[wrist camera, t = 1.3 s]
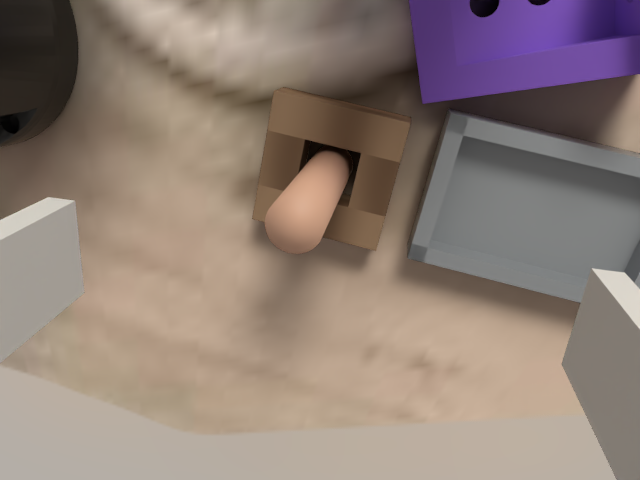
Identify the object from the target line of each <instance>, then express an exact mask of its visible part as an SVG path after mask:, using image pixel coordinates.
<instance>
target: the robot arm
mask: <svg viewBox="0 0 640 480" xmlns="http://www.w3.org/2000/svg"><path fill="white" fill-rule="evenodd" d="M77 60H78V42H77V32H76V25H75V20H74V15H73V12H72V8H71V5H70V2H69V0H0V147H4V146H7V145H11V144H15V143H19V142H22V141H25V140H27V139H30V138H32V137H34V136H36V135H37V134H39V133H40V132H42V131H43V130H45V129H46V128H47V127H48V126H49V125H50V124H51V123H52V122H53V121H54V120H55V119H56V118H57V117H58V115H59V114H60V112H61V111H62V109H63V108H64V106H65V104H66V102H67V100H68V98H69V96H70V93H71V91H72V88H73V84H74V80H75V76H76V70H77ZM82 294H84V284H83V274H82V264H81V254H80V244H79V233H78V223H77V213H76V203H75V201H74V200H66V199H59V198H51V197H47V198H45V199H43V200H41V201H39V202H37V203H35V204H33V205H31V206H28V207H26V208H24V209H22V210H20V211H18V212H16V213H14V214H12V215H10V216H8V217H5V218H3V219H1V220H0V363H1V362H2V361H3V360H4V359H6V358H7V357H8V356H9V355H10V354H12V353H13V352H14V351H15V350H16V349H18V348H19V347H20V346H21V345H22V344H24V343H25V342H26V341H27V340H28V339H30V338H31V337H32V336H33V335H34V334H36V333H37V332H38V331H39V330H40V329H42V328H43V327H44V326H45V325H46V324H48V323H49V322H50V321H51V320H52V319H54V318H55V317H56V316H57V315H58V314H60V313H61V312H62V311H63V310H64V309H66V308H67V307H68V306H69V305H70V304H72V303H73V302H74V301H75V300H76V299H78V298H79V297H80V296H81V295H82ZM562 366H563V368H564V370H565V372H566V374H567V376H568V379H569V381H570V383H571V385H572V387H573V389H574V391H575V393H576V395H577V397H578V400H579V402H580V404H581V406H582V408H583V410H584V412H585V414H586V416H587V418H588V421H589V423H590V425H591V427H592V429H593V431H594V433H595V435H596V437H597V439H598V441H599V444H600V446H601V448H602V450H603V452H604V454H605V456H606V458H607V460H608V462H609V464H610V467H611V469H612V471H613V473H614V475H615V477H616V479H617V480H640V289H639V288H638V287H637V285H636V284H635V283H634V282H633V281H632V280H631V279H630V278H629V277H628V276H627V275H626V273H624V272H616V271H608V270H601V269H593V268H591V271H590V274H589V277H588V281H587V284H586V287H585V290H584V293H583V297H582V300H581V303H580V306H579V310H578V313H577V316H576V319H575V322H574V326H573V329H572V332H571V335H570V339H569V342H568V345H567V348H566V351H565V355H564V358H563V361H562Z"/></svg>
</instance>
